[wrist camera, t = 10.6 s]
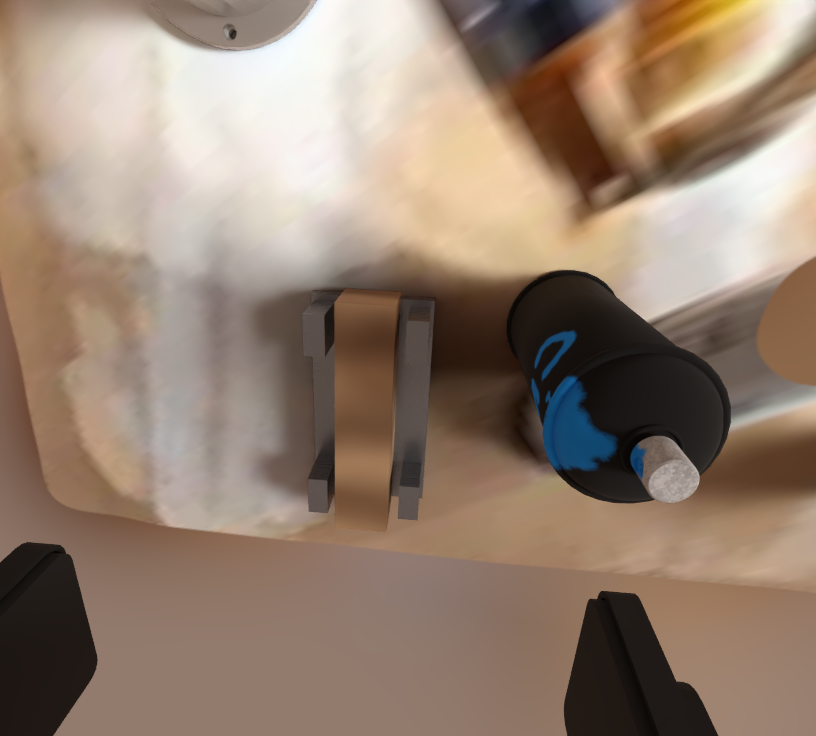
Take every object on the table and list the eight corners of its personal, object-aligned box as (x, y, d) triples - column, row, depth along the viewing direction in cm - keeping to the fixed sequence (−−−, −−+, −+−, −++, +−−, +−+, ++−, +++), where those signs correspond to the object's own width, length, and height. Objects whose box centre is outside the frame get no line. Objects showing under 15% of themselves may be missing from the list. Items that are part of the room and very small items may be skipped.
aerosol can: (622, 263, 36) (807, 373, 18) (618, 371, 39) (774, 563, 21) (503, 275, 37) (561, 393, 18) (508, 381, 40) (563, 572, 22)
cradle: (314, 290, 38) (297, 306, 34) (435, 297, 38) (433, 314, 34) (318, 483, 45) (305, 516, 41) (422, 491, 44) (420, 525, 40)
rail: (345, 288, 37) (334, 302, 33) (401, 291, 37) (396, 306, 33) (344, 496, 44) (335, 527, 40) (391, 500, 44) (386, 532, 40)
